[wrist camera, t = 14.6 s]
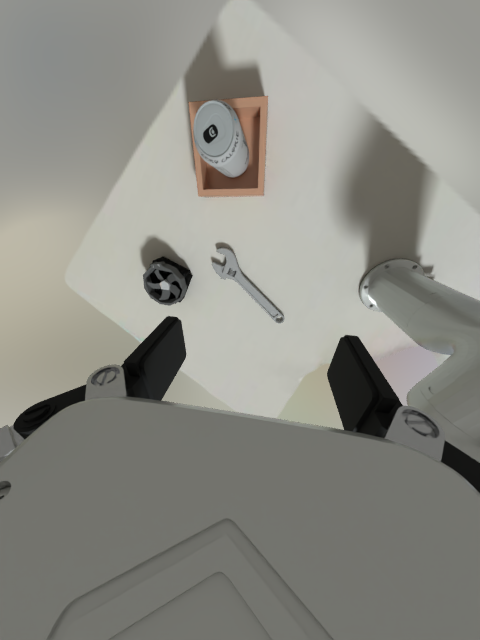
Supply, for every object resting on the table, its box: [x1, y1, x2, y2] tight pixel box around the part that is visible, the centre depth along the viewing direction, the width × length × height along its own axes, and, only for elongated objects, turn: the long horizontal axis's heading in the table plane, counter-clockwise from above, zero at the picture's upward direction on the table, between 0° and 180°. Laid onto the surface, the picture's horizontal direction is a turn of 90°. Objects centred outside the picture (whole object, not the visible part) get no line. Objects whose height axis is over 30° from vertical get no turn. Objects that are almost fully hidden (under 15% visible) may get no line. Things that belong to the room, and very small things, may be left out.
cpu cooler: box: [143, 257, 193, 305], centre depth 47 cm, size 10×6×10 cm
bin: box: [189, 96, 268, 197], centre depth 33 cm, size 12×12×5 cm
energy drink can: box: [193, 100, 249, 178], centre depth 28 cm, size 6×6×15 cm
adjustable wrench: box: [212, 247, 284, 323], centre depth 48 cm, size 25×6×2 cm, turn 40°
